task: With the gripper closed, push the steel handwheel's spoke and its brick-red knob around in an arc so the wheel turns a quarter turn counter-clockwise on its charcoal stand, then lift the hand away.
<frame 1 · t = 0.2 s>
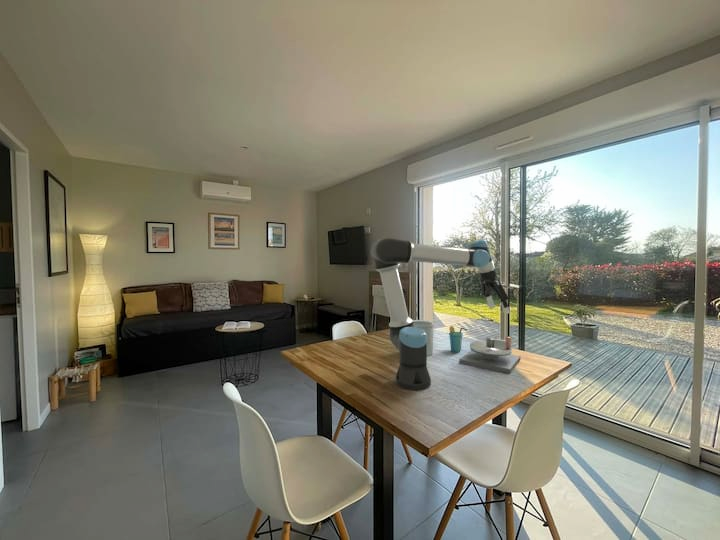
hand: (499, 310, 151), 28 cm above the table, tool tilted 20°, fingers open, 13 cm apart
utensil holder: (420, 352, 175), on the table
handwheel: (490, 342, 158), point 10 cm above the table, hinge at 0.0°
stand: (490, 361, 159), on the table
cup: (457, 351, 176), on the table
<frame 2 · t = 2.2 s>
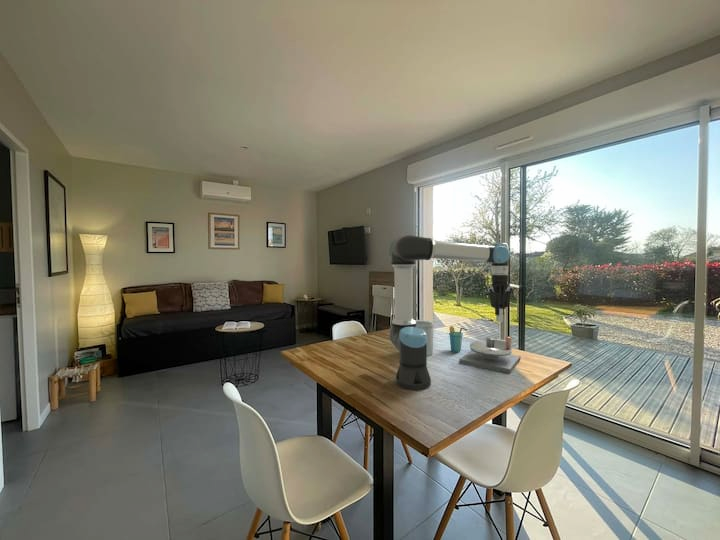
hand: (499, 321, 151), 22 cm above the table, tool pointing down, fingers closed
nothing on the table moved.
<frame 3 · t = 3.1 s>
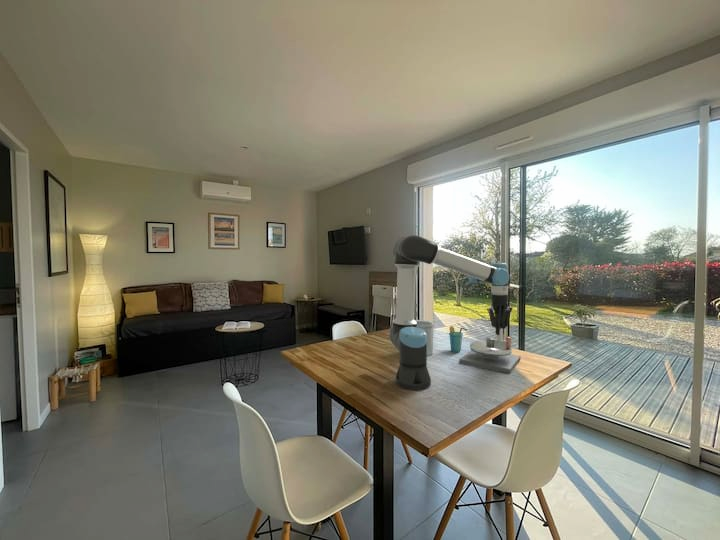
hand: (499, 340, 151), 13 cm above the table, tool pointing down, fingers closed
nothing on the table moved.
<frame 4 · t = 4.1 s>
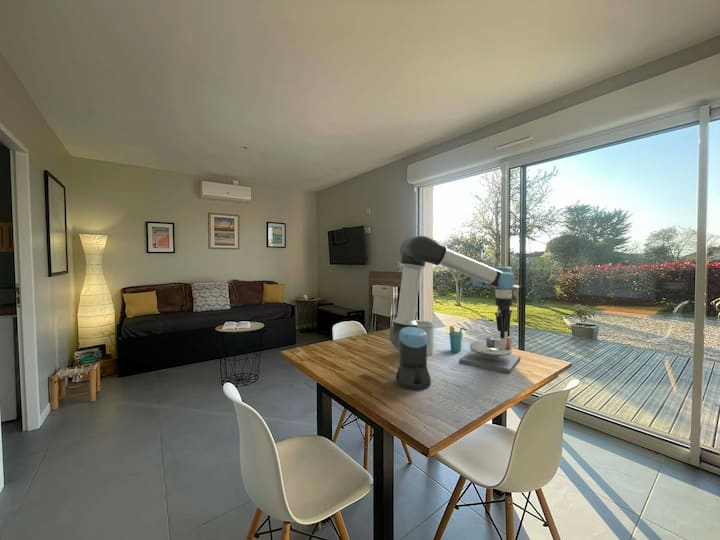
hand: (503, 344, 153), 11 cm above the table, tool pointing down, fingers closed
handwheel: (490, 342, 158), point 10 cm above the table, hinge at 0.6°, touching gripper
everything else where it was.
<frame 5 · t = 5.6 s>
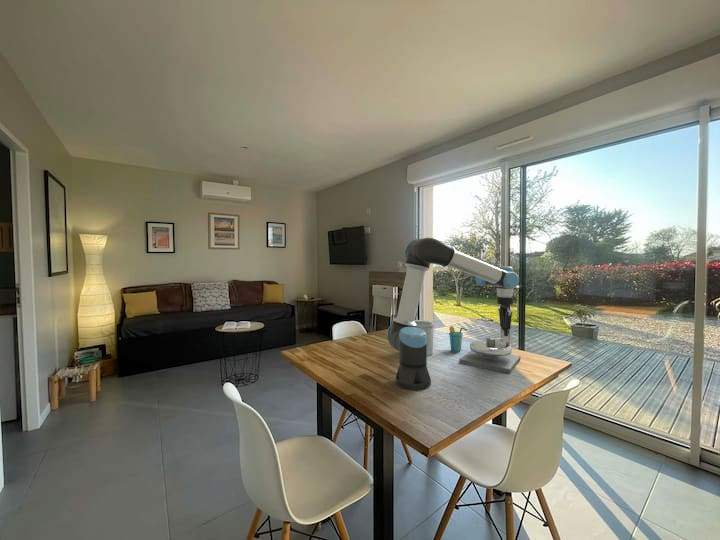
hand: (505, 341, 157), 11 cm above the table, tool pointing down, fingers closed
handwheel: (490, 342, 158), point 10 cm above the table, hinge at 38.7°, touching gripper
everything else where it was.
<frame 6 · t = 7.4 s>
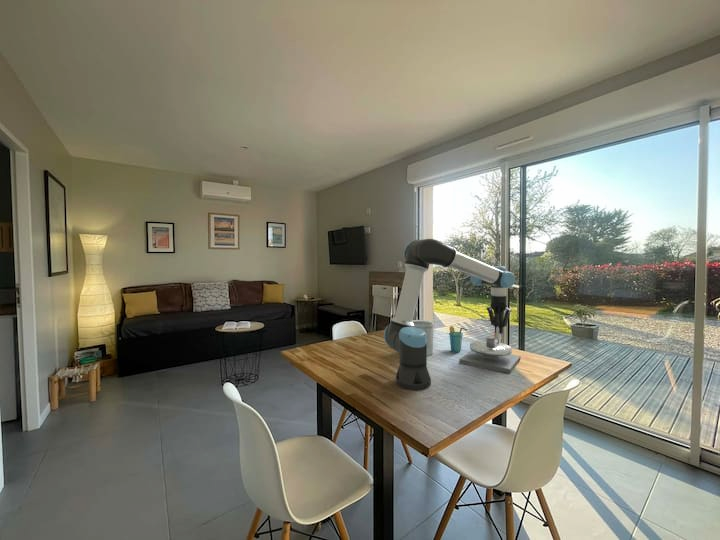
hand: (498, 339, 162), 11 cm above the table, tool pointing down, fingers closed
handwheel: (490, 342, 158), point 10 cm above the table, hinge at 83.2°, touching gripper
everything else where it was.
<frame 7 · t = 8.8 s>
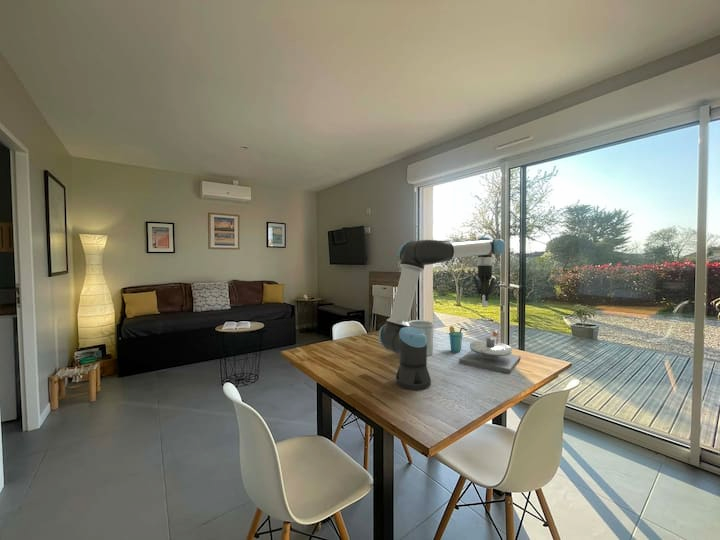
hand: (484, 306, 172), 27 cm above the table, tool pointing down, fingers closed
handwheel: (490, 342, 158), point 10 cm above the table, hinge at 88.5°
everything else where it was.
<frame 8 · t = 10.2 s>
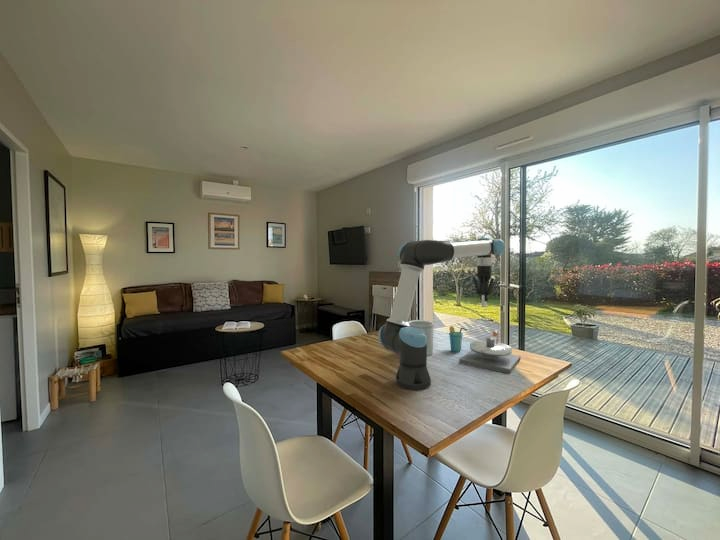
hand: (484, 306, 172), 26 cm above the table, tool pointing down, fingers closed
nothing on the table moved.
at the end: handwheel at +88° (first picture: +0°); the gripper is holding nothing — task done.
